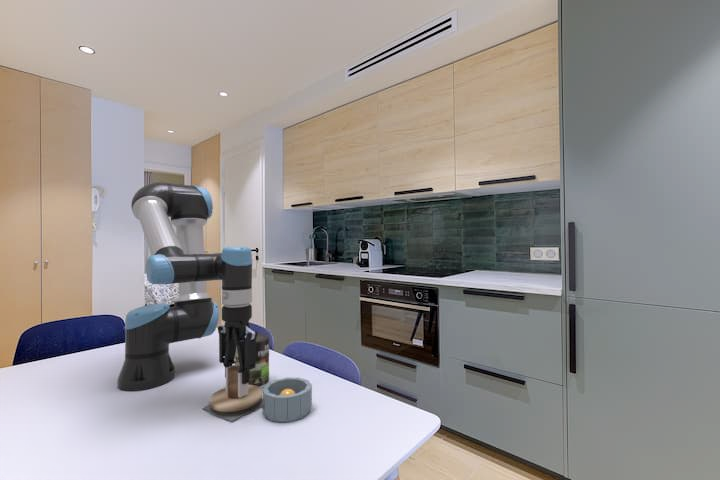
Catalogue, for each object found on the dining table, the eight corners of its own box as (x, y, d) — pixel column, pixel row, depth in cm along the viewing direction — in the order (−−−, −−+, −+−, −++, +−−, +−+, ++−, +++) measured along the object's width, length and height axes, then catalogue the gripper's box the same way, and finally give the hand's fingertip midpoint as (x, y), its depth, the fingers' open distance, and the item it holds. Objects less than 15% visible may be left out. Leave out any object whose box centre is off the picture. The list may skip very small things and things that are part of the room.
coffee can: (275, 378, 106) (275, 334, 106) (259, 392, 96) (259, 343, 96) (245, 376, 108) (245, 332, 108) (227, 389, 98) (227, 341, 98)
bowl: (253, 413, 84) (253, 390, 84) (287, 395, 94) (287, 374, 94) (287, 428, 77) (287, 402, 77) (320, 406, 87) (320, 383, 87)
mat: (202, 409, 86) (202, 407, 86) (241, 392, 96) (241, 390, 96) (231, 422, 80) (231, 421, 80) (270, 402, 90) (270, 401, 90)
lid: (199, 403, 86) (199, 371, 86) (241, 385, 97) (241, 356, 97) (231, 417, 79) (231, 382, 79) (272, 395, 90) (272, 365, 90)
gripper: (204, 303, 90) (204, 390, 89) (246, 310, 80) (246, 407, 80) (228, 299, 96) (228, 380, 96) (270, 305, 87) (270, 395, 86)
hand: (236, 392), depth 88 cm, fingers closed on lid, 4 cm apart
